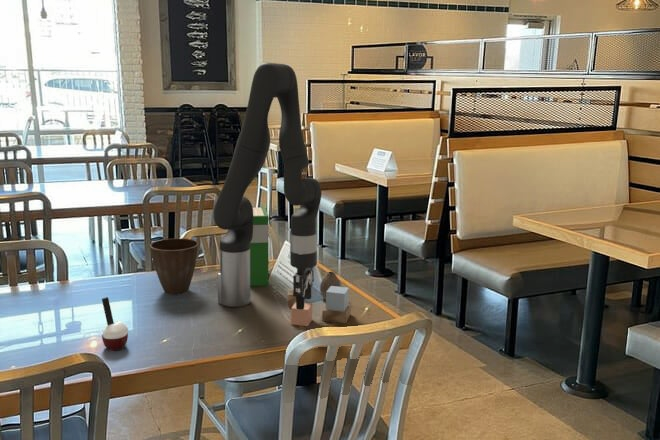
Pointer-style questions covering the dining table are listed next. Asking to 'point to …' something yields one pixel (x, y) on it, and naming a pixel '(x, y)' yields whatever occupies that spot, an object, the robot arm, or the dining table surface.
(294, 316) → the terracotta cube
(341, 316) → the walnut slab
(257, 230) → the hardback book
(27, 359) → the dining table surface
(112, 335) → the fishing bobber
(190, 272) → the plant pot
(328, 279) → the vase
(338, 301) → the slate cube
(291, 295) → the maple block
